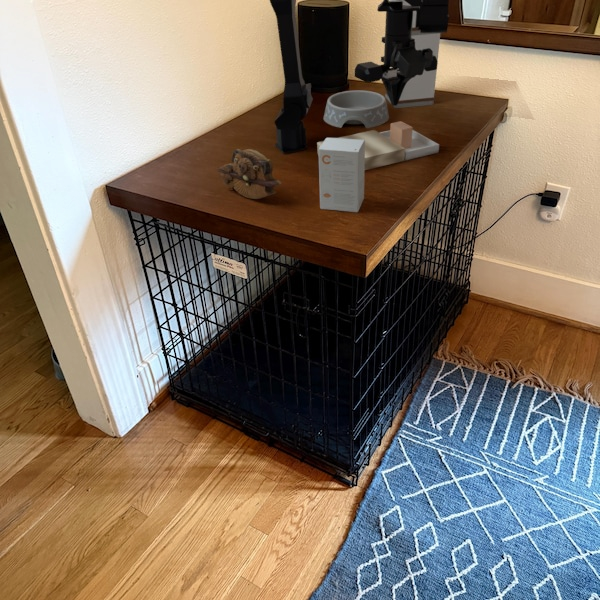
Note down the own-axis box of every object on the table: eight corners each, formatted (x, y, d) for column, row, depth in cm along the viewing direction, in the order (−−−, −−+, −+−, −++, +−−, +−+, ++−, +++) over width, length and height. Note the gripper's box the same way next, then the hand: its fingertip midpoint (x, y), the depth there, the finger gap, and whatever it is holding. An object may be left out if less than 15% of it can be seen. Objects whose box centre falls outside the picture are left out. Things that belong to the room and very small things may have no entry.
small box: (364, 199, 118) (366, 139, 110) (357, 213, 113) (359, 151, 105) (326, 195, 120) (326, 136, 112) (319, 209, 115) (317, 148, 108)
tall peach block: (402, 129, 133) (412, 127, 134) (390, 123, 137) (400, 121, 138) (400, 149, 136) (411, 147, 137) (389, 143, 140) (399, 140, 141)
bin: (405, 160, 133) (405, 152, 132) (374, 141, 143) (375, 133, 142) (438, 152, 136) (439, 144, 134) (406, 134, 146) (406, 126, 145)
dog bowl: (388, 129, 150) (389, 109, 147) (319, 128, 152) (319, 109, 149) (389, 108, 163) (390, 89, 160) (327, 107, 166) (326, 89, 163)
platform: (344, 175, 128) (344, 162, 126) (317, 154, 138) (317, 142, 136) (404, 160, 133) (405, 148, 131) (373, 141, 143) (374, 129, 141)
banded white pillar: (421, 93, 172) (432, -40, 150) (433, 104, 163) (447, -35, 142) (385, 97, 170) (391, -37, 149) (395, 108, 162) (403, -32, 141)
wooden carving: (215, 191, 124) (208, 148, 118) (228, 184, 127) (223, 141, 121) (274, 209, 116) (271, 164, 110) (287, 200, 119) (284, 156, 113)
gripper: (380, 46, 113) (377, 123, 123) (456, 34, 119) (448, 107, 128) (353, 36, 121) (352, 108, 131) (426, 25, 127) (420, 94, 137)
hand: (394, 105), depth 132 cm, fingers closed
